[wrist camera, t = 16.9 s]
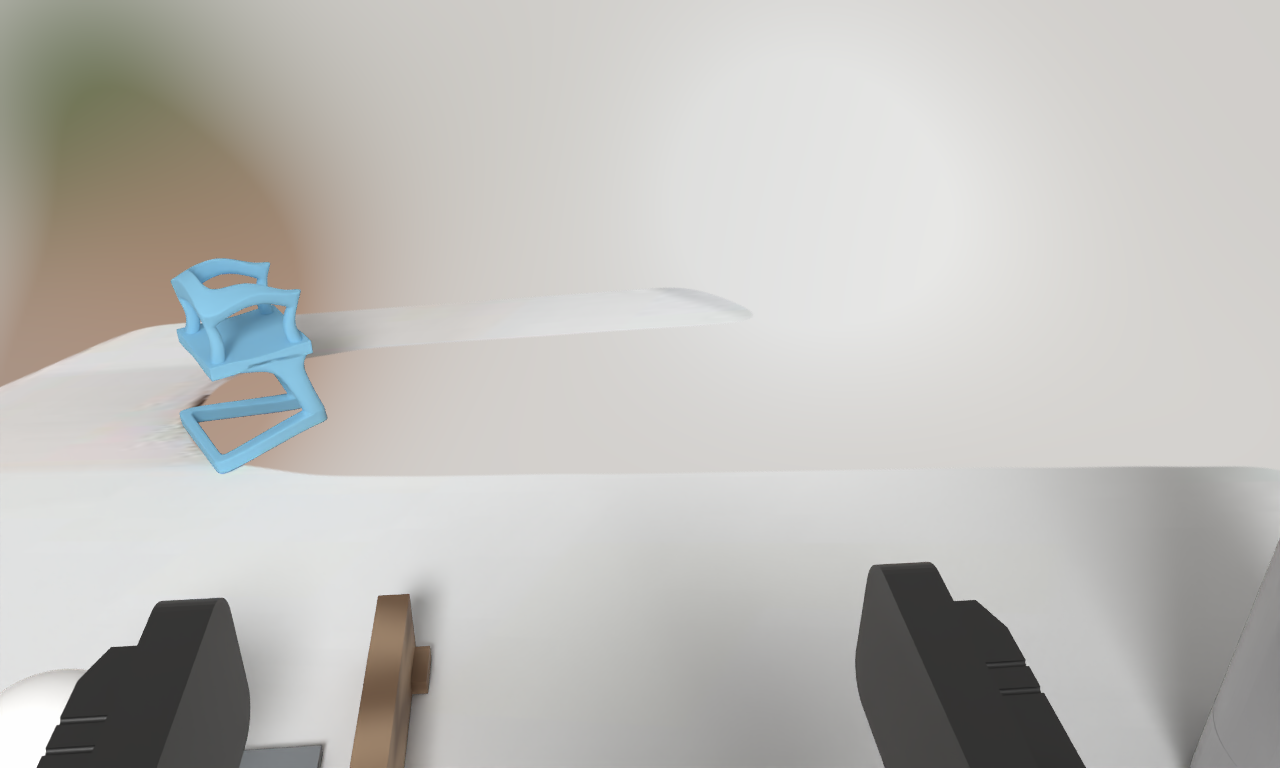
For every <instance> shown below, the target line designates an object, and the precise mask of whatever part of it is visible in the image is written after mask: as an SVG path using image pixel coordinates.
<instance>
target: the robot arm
mask: <svg viewBox="0 0 1280 768" xmlns="http://www.w3.org/2000/svg"><path fill="white" fill-rule="evenodd" d="M855 667H856V679H857V686H858V691H859V696H860V700H861V703H862V706H863V708H864V711H865V714H866V717H867V719H868V722H869V725H870V728H871V730H872V733H873V736H874V739H875V742H876V744H877V747H878V750H879V753H880V755H881V758H882V761H883V764H884V766H885V768H1086V767H1085V765H1084V764H1083V762H1082V760H1081V758H1080V756H1079V755H1078V753H1077V751H1076V749H1075V747H1074V746H1073V744H1072V742H1071V740H1070V739H1069V737H1068V735H1067V733H1066V731H1065V730H1064V728H1063V726H1062V724H1061V722H1060V721H1059V719H1058V717H1057V715H1056V714H1055V712H1054V710H1053V708H1052V706H1051V705H1050V703H1049V701H1048V699H1047V697H1046V696H1045V694H1044V693H1041V691H1040V685H1039V683H1038V681H1037V680H1036V678H1035V676H1034V674H1033V672H1032V671H1031V669H1030V667H1029V666H1026V664H1025V658H1024V656H1023V655H1022V653H1021V651H1020V649H1019V647H1018V646H1017V644H1016V642H1015V640H1014V639H1013V637H1012V635H1011V633H1010V631H1009V630H1008V628H1007V627H1006V626H1005V625H1004V624H1003V623H1002V622H1000V621H999V620H998V619H997V618H996V617H995V616H993V615H992V614H991V613H990V612H989V611H988V610H987V609H985V608H984V607H983V606H982V605H981V604H980V603H978V602H977V601H976V600H968V601H953V599H952V597H951V595H950V593H949V591H948V589H947V587H946V585H945V583H944V581H943V579H942V578H941V576H940V574H939V572H938V570H937V568H936V567H935V566H934V565H933V564H932V563H930V562H920V563H901V564H883V565H873V566H872V567H871V569H870V570H869V573H868V578H867V584H866V590H865V597H864V603H863V609H862V616H861V622H860V629H859V635H858V642H857V648H856V659H855ZM249 721H250V695H249V688H248V683H247V679H246V674H245V670H244V666H243V662H242V657H241V653H240V649H239V644H238V640H237V636H236V632H235V627H234V623H233V619H232V614H231V611H230V607H229V605H228V602H227V601H226V600H225V599H224V598H209V599H190V600H171V601H160V602H158V603H157V604H156V605H155V607H154V608H153V610H152V612H151V615H150V617H149V619H148V622H147V624H146V626H145V629H144V631H143V633H142V636H141V638H140V640H139V643H138V645H137V646H124V647H111V648H110V649H109V650H108V651H107V652H106V653H105V654H104V655H103V656H102V657H101V658H100V659H99V660H98V661H97V662H96V663H95V664H94V665H93V666H92V667H91V668H90V669H89V670H88V671H87V672H86V673H85V674H84V675H83V676H82V677H81V678H80V679H79V680H78V681H77V683H76V685H75V687H74V689H73V691H72V693H71V695H70V697H69V700H68V702H67V704H66V706H65V708H64V710H63V712H62V714H61V716H60V724H59V725H56V727H55V729H54V731H53V733H52V735H51V737H50V740H49V742H48V744H47V746H46V748H45V749H46V753H45V756H41V759H40V761H39V763H38V765H37V767H36V768H239V766H240V763H241V759H242V755H243V752H244V748H245V745H246V741H247V736H248V730H249ZM1190 768H1280V539H1279V541H1278V544H1277V546H1276V549H1275V551H1274V554H1273V556H1272V559H1271V561H1270V564H1269V567H1268V569H1267V572H1266V574H1265V577H1264V579H1263V582H1262V584H1261V587H1260V589H1259V592H1258V594H1257V597H1256V599H1255V602H1254V604H1253V607H1252V609H1251V612H1250V615H1249V617H1248V620H1247V622H1246V625H1245V627H1244V630H1243V632H1242V635H1241V637H1240V640H1239V642H1238V645H1237V647H1236V650H1235V652H1234V655H1233V657H1232V660H1231V662H1230V665H1229V668H1228V670H1227V673H1226V675H1225V678H1224V680H1223V683H1222V685H1221V688H1220V690H1219V693H1218V694H1217V697H1216V699H1215V702H1214V704H1213V707H1212V709H1211V712H1210V714H1209V717H1208V719H1207V722H1206V724H1205V727H1204V730H1203V732H1202V735H1201V737H1200V740H1199V742H1198V745H1197V747H1196V750H1195V753H1194V755H1193V758H1192V761H1191V764H1190Z"/></svg>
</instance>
